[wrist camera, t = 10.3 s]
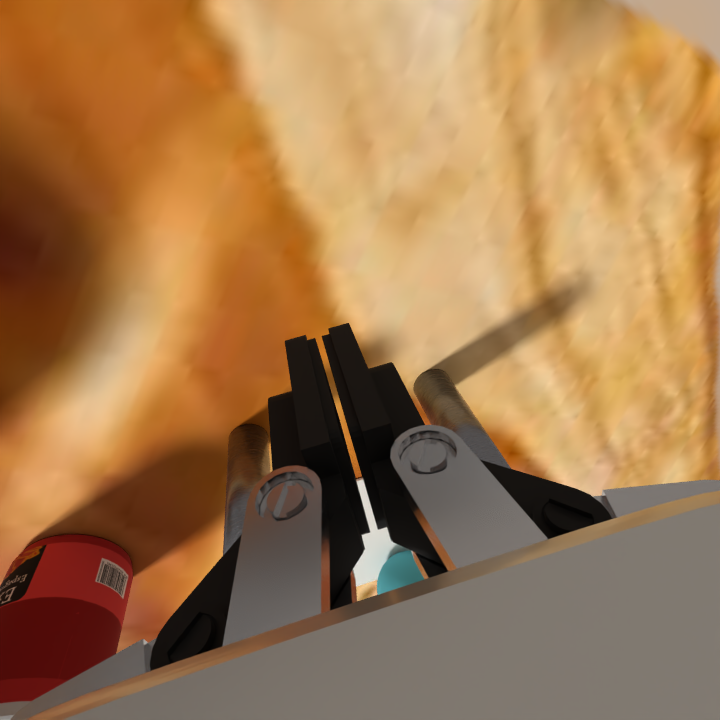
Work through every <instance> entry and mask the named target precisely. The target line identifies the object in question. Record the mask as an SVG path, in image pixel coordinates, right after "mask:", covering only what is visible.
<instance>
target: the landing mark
mask: <svg viewBox="0 0 720 720" xmlns="http://www.w3.org/2000/svg"><path fill="white" fill-rule="evenodd" d="M356 481H357V485H358V489H359V492H360V496H361V500H362V503H363V507H364V511H365V514H366V518H367V521H368V525H369V529H370V533H367V534H364V535H362V539H363V543H364V547H365V550H364V552H363V554H362V555H361V557H360V559H359V560H358V562H357V564H356V565H355V567H354V568H353V570H354V575H355V579H356V586H359V585H362V584H365V583H368V582H372V581H375V580H378V576H379V573H380V570H381V568H382V567H383V565H384V564H385V562H386V561H387V560H388V559H389V558H390V557H392V556H393V555H395V554H396V553H399V552H402V551H409V549H407V548H404V547H402V546H400V545H398V544H396V543H393V541H391V539H390V536H389V533H388V529H387V527H386V528H383V529H379V530H378V529H377V525H376V522H375V518H374V515H373V511H372V508H371V505H370V501H369V498H368V494H367V491H366V487H365V484H364V481H363V477H362V478H359V479H356ZM410 551H411V550H410Z"/></svg>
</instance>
